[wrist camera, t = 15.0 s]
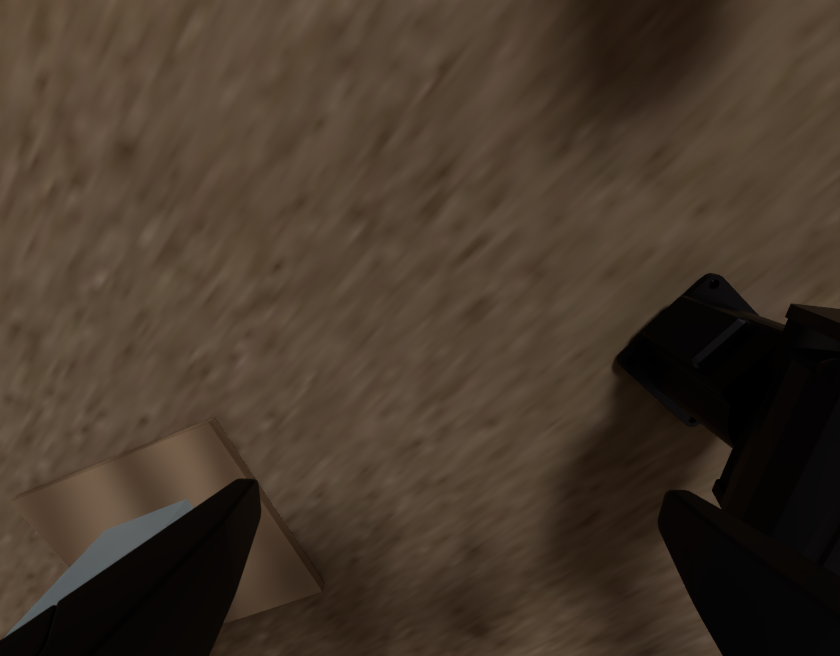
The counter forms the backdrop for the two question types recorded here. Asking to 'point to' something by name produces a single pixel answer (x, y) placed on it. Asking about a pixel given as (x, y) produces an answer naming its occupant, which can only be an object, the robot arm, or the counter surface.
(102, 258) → the counter surface
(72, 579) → the tall slate pillar
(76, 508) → the post base
